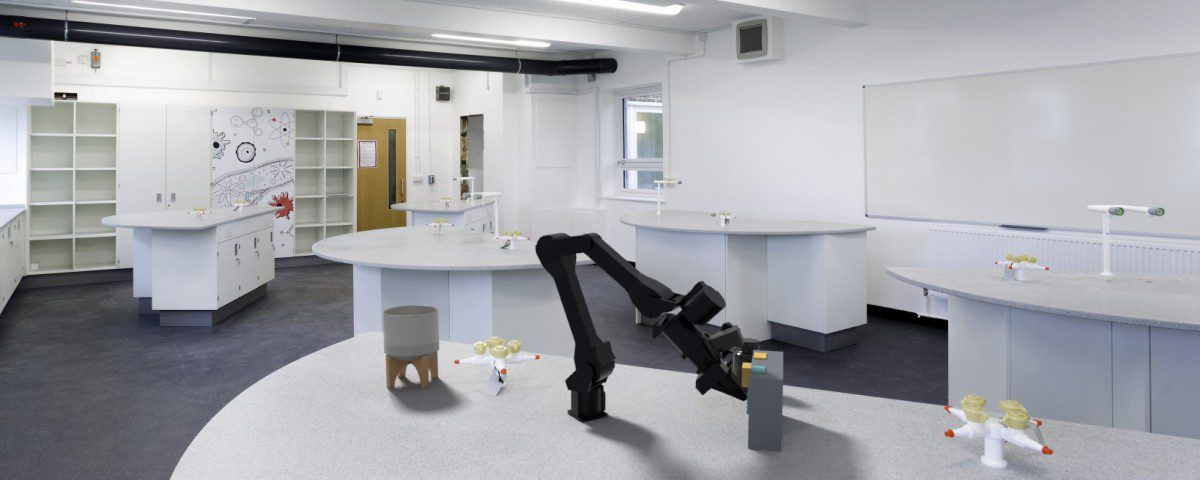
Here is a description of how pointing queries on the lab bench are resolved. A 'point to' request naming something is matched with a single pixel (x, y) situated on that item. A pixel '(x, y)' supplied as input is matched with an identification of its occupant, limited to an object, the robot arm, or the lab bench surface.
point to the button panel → (765, 401)
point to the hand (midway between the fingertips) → (746, 399)
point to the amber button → (746, 374)
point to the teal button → (748, 401)
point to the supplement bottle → (744, 357)
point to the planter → (411, 342)
